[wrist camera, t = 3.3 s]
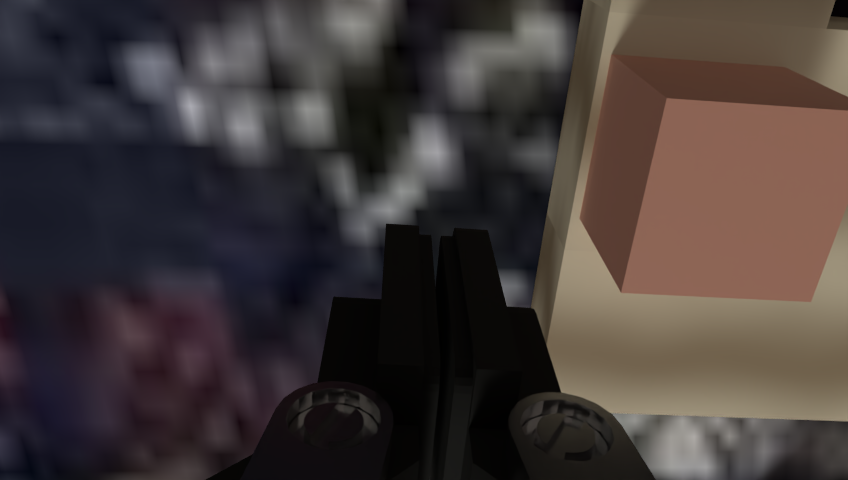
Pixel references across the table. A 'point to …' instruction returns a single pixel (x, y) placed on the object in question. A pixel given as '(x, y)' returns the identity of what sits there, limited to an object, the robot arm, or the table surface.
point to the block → (716, 179)
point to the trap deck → (688, 315)
